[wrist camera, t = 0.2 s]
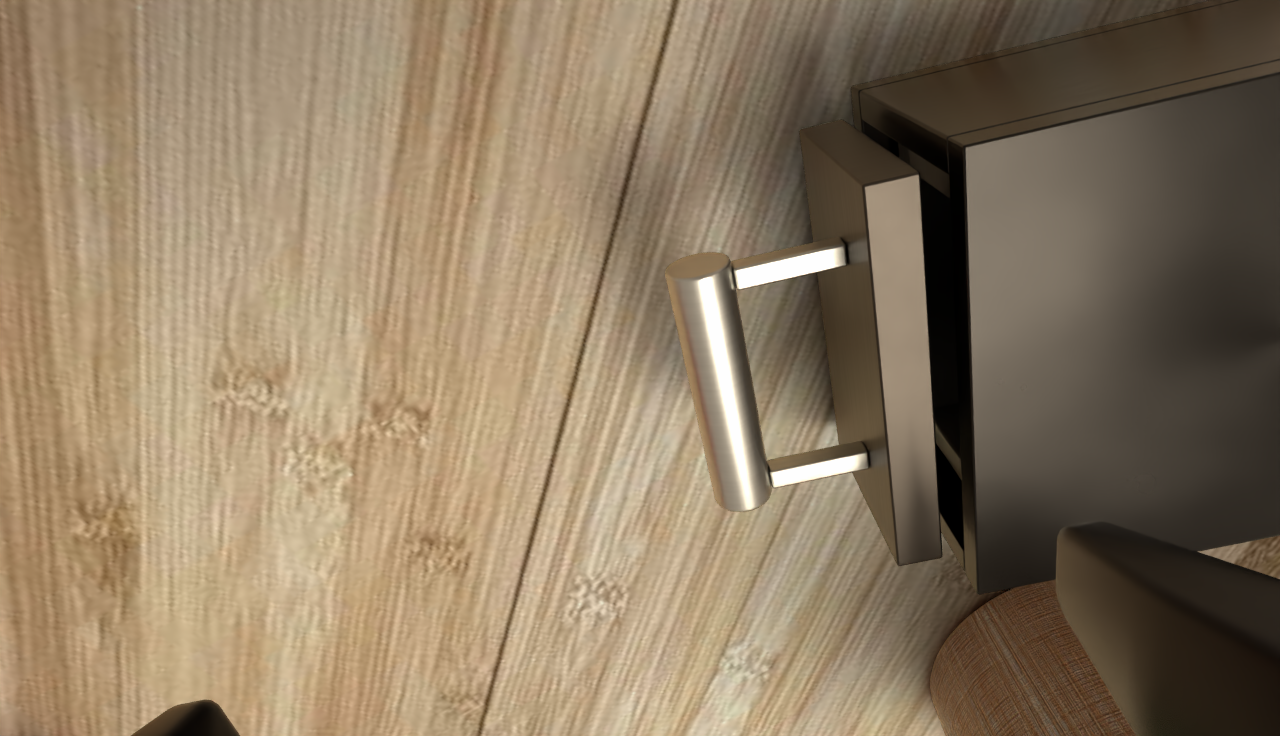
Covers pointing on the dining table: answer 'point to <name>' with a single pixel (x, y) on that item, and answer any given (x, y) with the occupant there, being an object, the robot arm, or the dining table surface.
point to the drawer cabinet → (1108, 281)
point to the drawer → (843, 339)
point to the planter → (1021, 673)
